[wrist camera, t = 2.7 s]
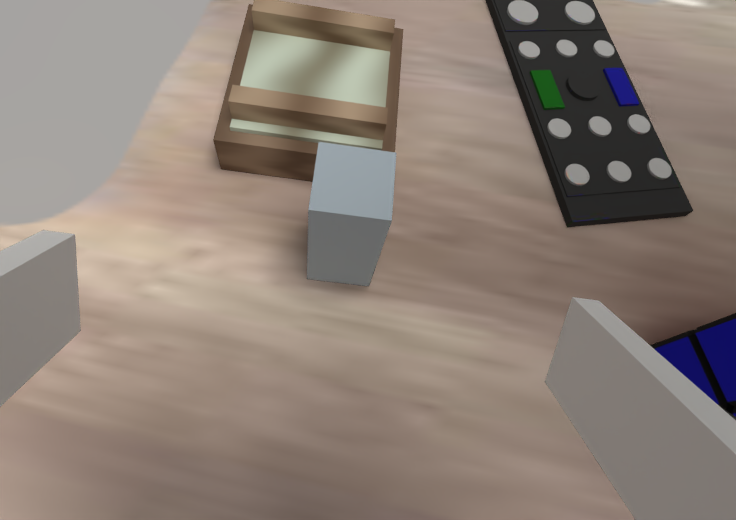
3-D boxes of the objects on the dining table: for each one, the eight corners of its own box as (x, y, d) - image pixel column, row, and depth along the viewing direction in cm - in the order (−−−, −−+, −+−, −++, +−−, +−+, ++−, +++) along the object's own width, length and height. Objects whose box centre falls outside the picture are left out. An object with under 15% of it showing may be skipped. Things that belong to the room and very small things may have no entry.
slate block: (373, 231, 37) (396, 152, 28) (368, 286, 35) (391, 220, 26) (314, 224, 37) (318, 141, 28) (306, 278, 35) (308, 209, 26)
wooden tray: (395, 61, 45) (408, 6, 39) (386, 191, 39) (399, 146, 33) (253, 39, 43) (246, -21, 38) (221, 168, 38) (207, 119, 32)
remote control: (569, -22, 54) (578, -39, 52) (680, 219, 42) (697, 207, 40) (474, -22, 52) (480, -41, 50) (563, 230, 40) (576, 218, 38)
